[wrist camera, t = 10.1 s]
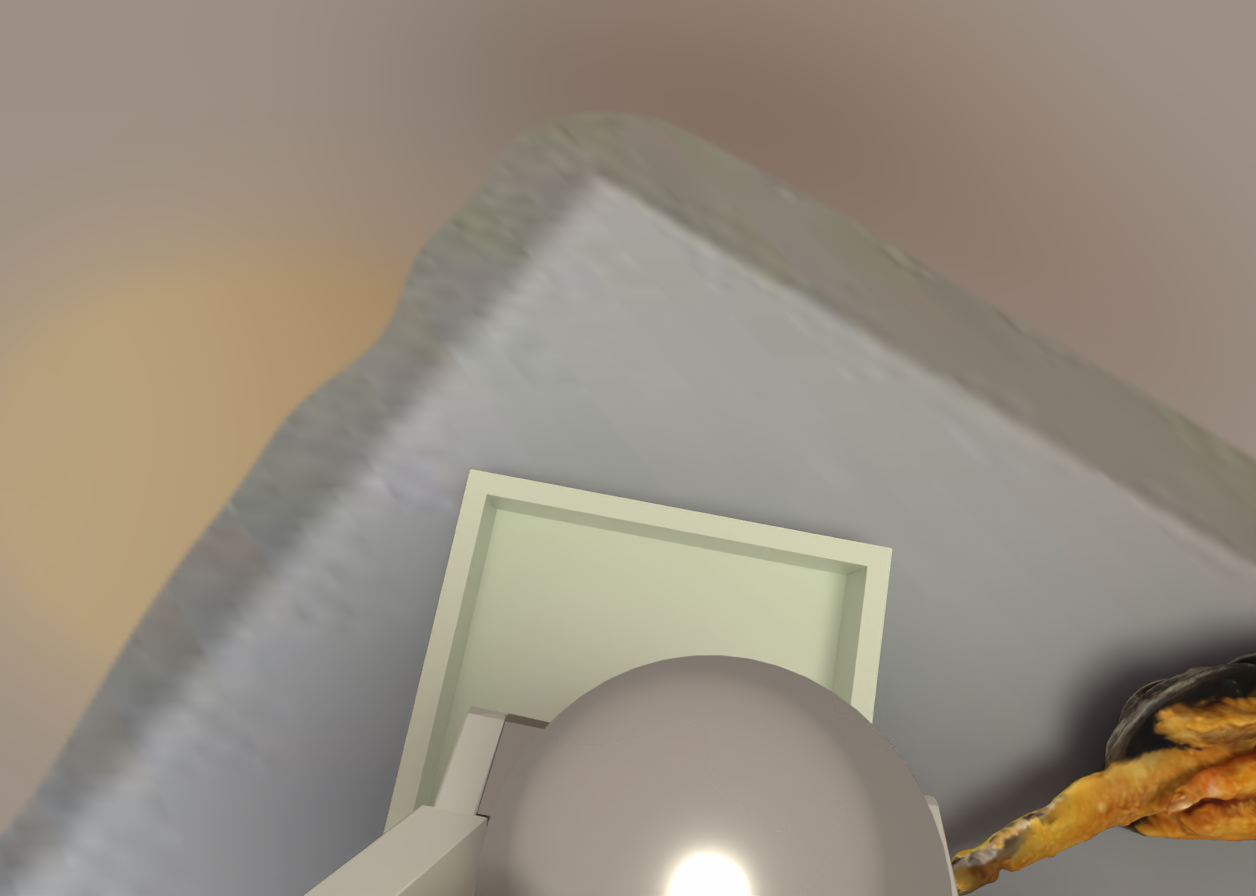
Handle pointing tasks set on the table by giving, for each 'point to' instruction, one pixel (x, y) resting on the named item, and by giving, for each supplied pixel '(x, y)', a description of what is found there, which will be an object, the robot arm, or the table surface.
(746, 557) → the tray
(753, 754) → the steel pin
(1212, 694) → the fried shrimp in bowl
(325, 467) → the table surface
